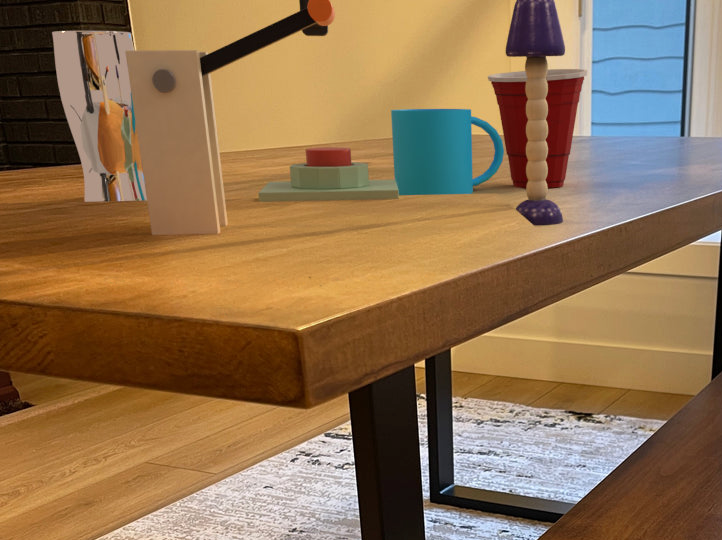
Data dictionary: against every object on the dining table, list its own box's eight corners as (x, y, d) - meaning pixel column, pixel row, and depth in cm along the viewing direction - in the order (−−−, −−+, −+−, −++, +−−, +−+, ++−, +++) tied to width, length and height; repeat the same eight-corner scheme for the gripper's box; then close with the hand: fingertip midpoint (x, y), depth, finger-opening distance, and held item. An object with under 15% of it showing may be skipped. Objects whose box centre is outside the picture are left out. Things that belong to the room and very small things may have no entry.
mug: (408, 198, 100) (404, 111, 97) (386, 191, 107) (381, 109, 104) (518, 193, 105) (517, 109, 101) (490, 186, 111) (489, 107, 108)
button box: (260, 218, 87) (255, 170, 85) (271, 205, 96) (266, 161, 94) (399, 215, 88) (397, 168, 86) (396, 203, 97) (394, 159, 95)
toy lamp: (564, 226, 81) (567, -5, 74) (507, 227, 81) (505, -5, 74) (561, 219, 85) (564, -1, 78) (506, 219, 85) (505, 0, 78)
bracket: (278, 238, 75) (260, 52, 70) (267, 258, 67) (245, 49, 62) (127, 242, 74) (98, 53, 69) (97, 262, 66) (61, 49, 61)
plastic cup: (469, 187, 111) (466, 69, 106) (526, 179, 119) (526, 69, 114) (549, 193, 105) (550, 68, 100) (604, 184, 113) (607, 68, 108)
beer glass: (165, 210, 93) (140, 31, 87) (86, 215, 90) (55, 29, 84) (149, 203, 98) (125, 34, 92) (74, 207, 95) (44, 33, 89)
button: (305, 171, 88) (304, 150, 88) (308, 167, 92) (306, 147, 91) (351, 170, 89) (350, 149, 88) (352, 167, 92) (350, 147, 92)
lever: (341, 26, 69) (325, -10, 68) (339, 22, 64) (322, -17, 63) (170, 107, 69) (151, 72, 68) (154, 108, 64) (134, 71, 63)
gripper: (258, -188, 84) (276, 38, 91) (240, -234, 72) (263, 31, 79) (348, -185, 85) (359, 39, 92) (345, -230, 73) (359, 32, 80)
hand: (315, 35), depth 86 cm, fingers closed
